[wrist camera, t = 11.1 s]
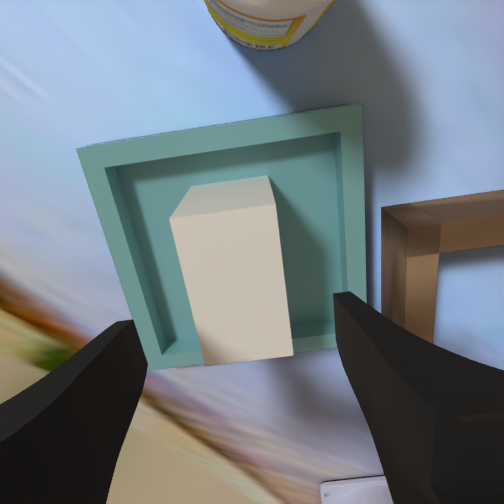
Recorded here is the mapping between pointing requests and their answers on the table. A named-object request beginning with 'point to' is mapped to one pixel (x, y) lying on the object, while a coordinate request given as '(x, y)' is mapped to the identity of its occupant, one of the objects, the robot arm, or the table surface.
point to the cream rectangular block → (234, 270)
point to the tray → (227, 169)
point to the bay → (430, 251)
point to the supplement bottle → (266, 20)
